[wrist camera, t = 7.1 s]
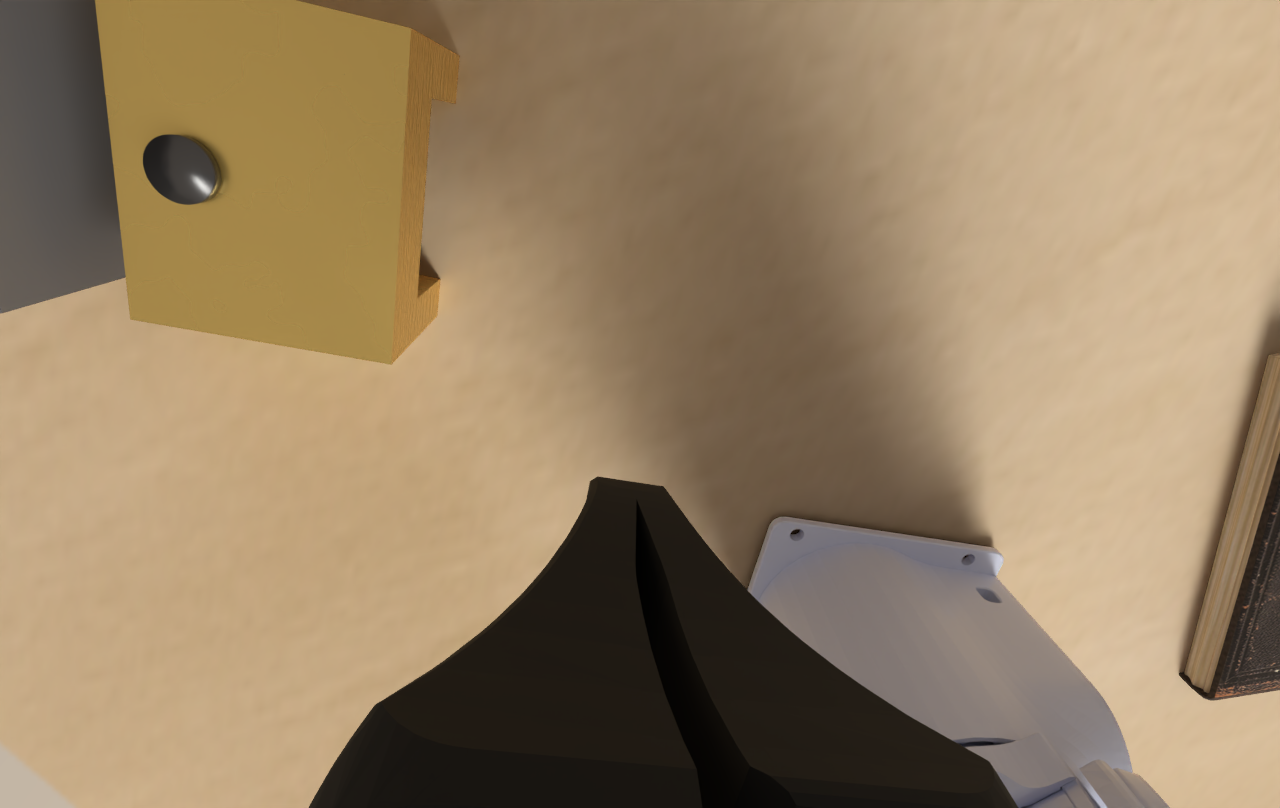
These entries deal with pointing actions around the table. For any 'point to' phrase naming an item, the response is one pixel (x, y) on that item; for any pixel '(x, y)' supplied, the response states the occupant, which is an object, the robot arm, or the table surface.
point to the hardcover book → (1245, 569)
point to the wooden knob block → (273, 169)
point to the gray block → (54, 155)
